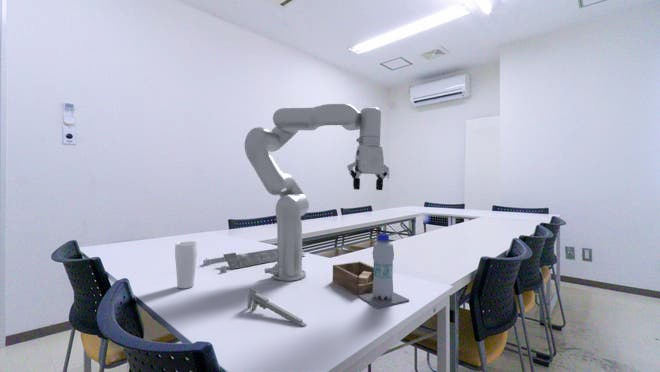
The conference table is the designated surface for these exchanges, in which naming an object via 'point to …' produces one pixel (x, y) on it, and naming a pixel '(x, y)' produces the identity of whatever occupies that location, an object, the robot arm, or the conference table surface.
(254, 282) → the conference table surface
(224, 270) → the paper cutter
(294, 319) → the caliper
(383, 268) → the bottle
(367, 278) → the offcut upper
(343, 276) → the open wooden box
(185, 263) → the drinking glass
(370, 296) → the mat
